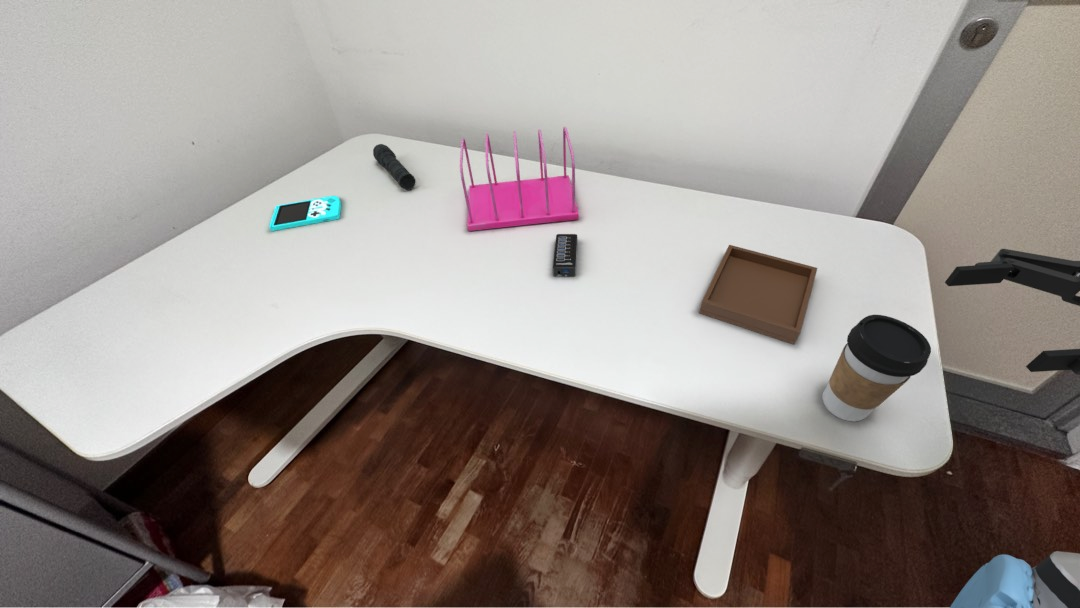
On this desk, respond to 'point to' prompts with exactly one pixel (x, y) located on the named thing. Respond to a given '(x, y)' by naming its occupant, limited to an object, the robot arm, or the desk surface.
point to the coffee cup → (874, 366)
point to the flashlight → (393, 166)
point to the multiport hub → (565, 255)
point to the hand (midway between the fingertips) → (990, 315)
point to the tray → (760, 293)
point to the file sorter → (520, 194)
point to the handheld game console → (305, 213)
